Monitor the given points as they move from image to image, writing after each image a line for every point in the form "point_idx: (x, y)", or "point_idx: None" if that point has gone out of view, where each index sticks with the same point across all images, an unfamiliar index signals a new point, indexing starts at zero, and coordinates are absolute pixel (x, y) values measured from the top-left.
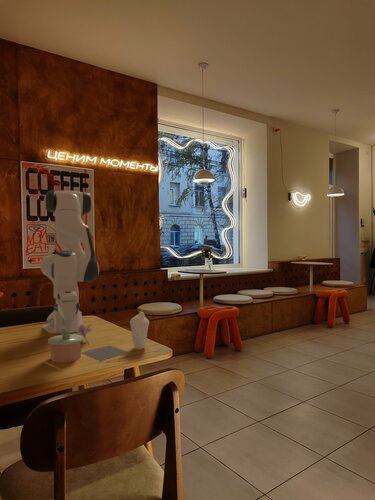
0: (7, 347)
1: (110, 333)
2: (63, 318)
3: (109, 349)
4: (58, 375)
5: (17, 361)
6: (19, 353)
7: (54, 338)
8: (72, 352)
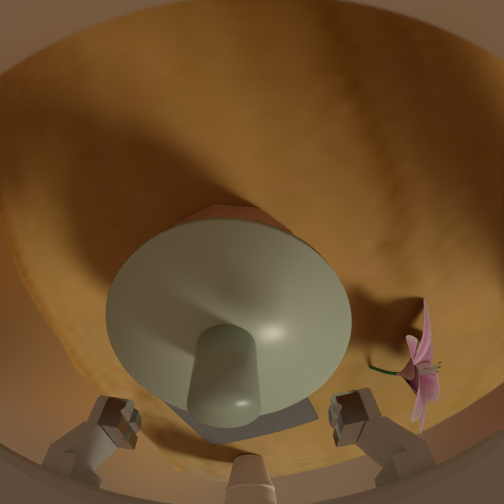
0: (485, 58)
1: (438, 404)
2: (9, 465)
3: (268, 418)
4: (36, 235)
5: (278, 40)
6: (407, 68)
7: (266, 274)
8: None
